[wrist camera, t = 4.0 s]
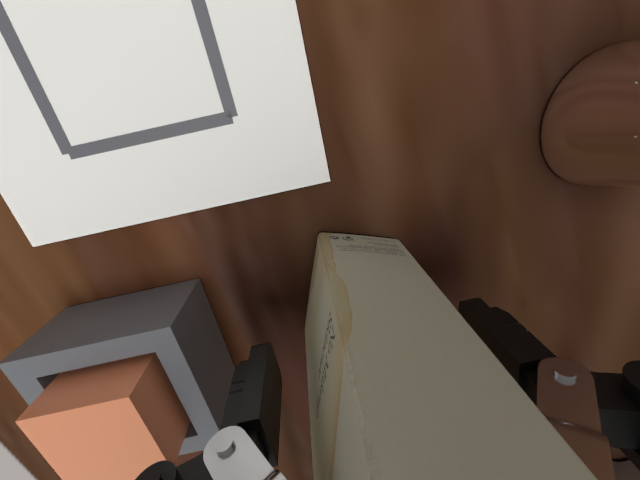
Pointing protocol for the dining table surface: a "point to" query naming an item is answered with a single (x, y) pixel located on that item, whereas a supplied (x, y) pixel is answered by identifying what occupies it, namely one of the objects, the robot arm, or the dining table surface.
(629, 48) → the beer glass
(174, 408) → the button
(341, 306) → the skincare box
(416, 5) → the dining table surface
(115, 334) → the button housing
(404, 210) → the dining table surface
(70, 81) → the paper sheet
